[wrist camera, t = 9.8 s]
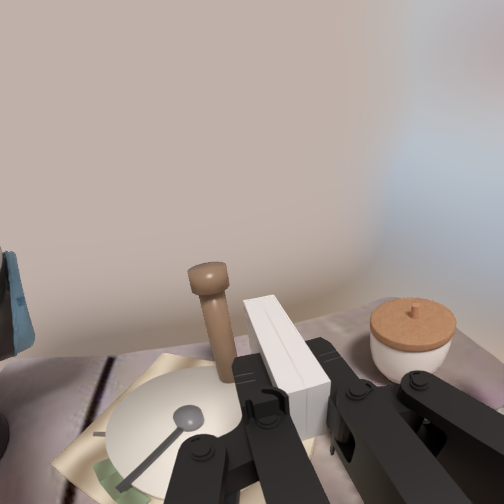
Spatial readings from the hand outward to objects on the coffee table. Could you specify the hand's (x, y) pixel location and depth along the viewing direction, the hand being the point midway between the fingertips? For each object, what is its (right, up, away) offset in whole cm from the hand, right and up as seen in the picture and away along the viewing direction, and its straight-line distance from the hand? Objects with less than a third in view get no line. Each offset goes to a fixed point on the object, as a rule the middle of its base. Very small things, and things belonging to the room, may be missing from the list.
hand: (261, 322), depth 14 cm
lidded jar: (+19, -12, +16) cm, 27 cm away
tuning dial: (-7, -15, +10) cm, 19 cm away
